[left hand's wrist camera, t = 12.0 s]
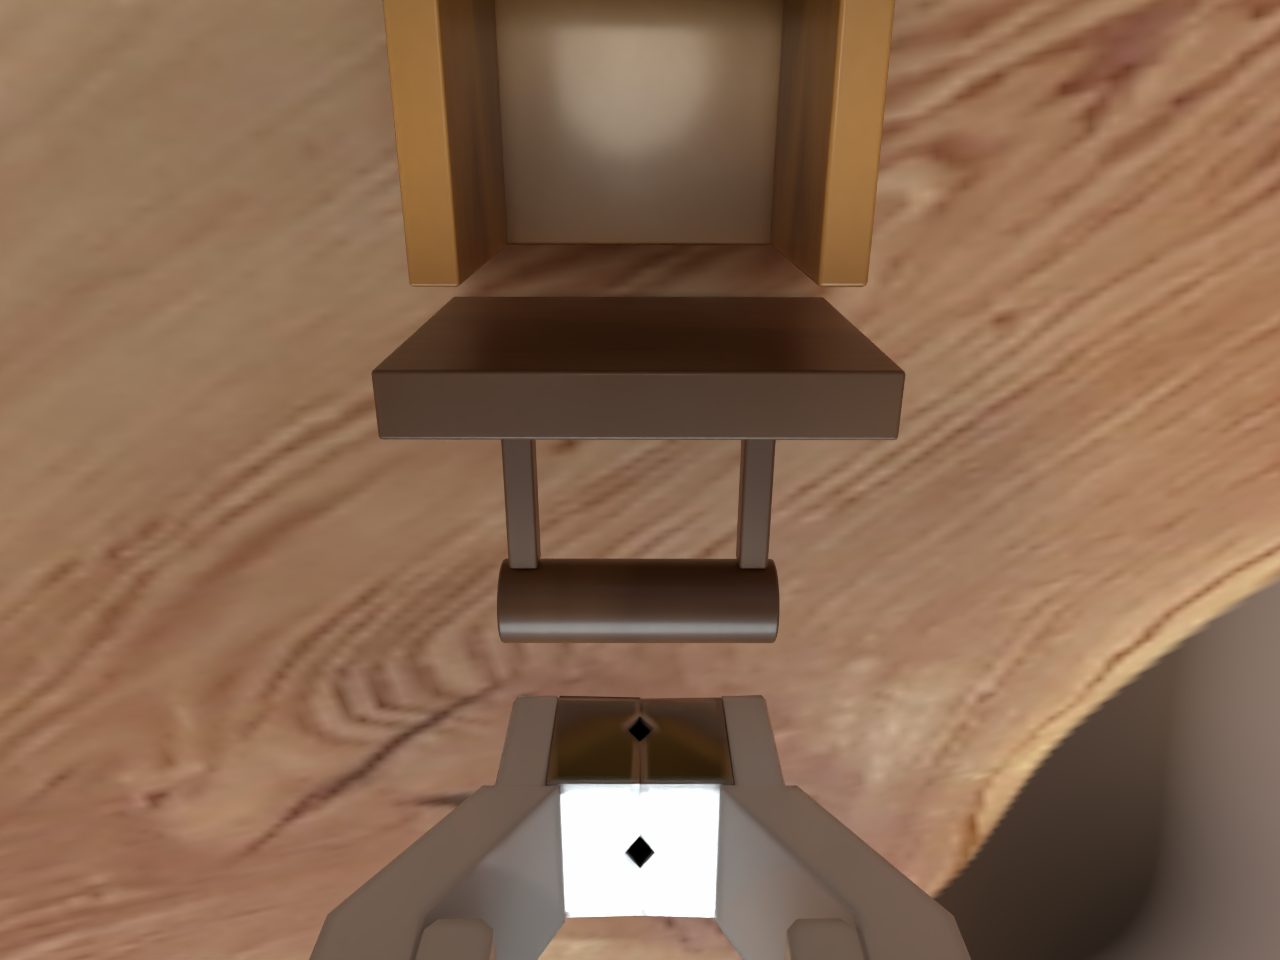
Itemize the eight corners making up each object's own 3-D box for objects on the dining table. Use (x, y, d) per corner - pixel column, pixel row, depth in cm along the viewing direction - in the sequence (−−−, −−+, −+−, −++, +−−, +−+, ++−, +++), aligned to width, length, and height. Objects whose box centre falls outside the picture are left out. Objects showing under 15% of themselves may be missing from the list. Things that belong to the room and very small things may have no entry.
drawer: (804, 545, 23) (867, 704, 17) (471, 545, 23) (408, 703, 17) (891, -539, 15) (1070, -1016, 9) (388, -541, 15) (208, -1021, 9)
